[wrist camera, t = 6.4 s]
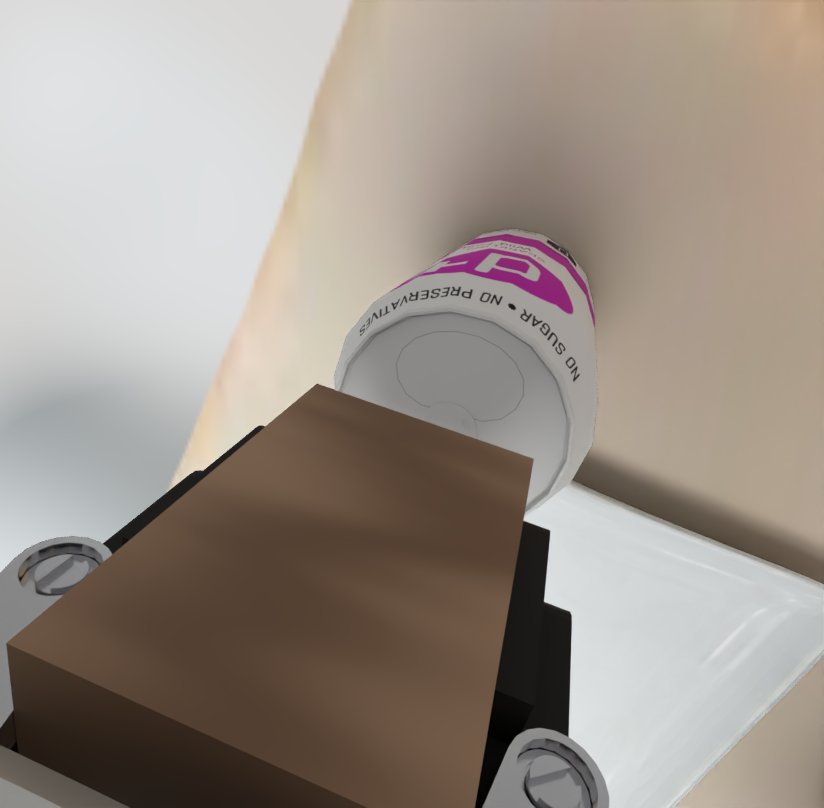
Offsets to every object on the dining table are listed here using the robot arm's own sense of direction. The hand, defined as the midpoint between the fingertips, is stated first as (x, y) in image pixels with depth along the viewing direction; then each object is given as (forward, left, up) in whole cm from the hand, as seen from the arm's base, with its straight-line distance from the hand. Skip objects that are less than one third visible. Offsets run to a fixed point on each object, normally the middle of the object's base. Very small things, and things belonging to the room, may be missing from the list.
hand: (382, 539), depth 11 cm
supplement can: (0, 0, -21) cm, 21 cm away
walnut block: (0, 0, -1) cm, 1 cm away
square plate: (-6, +20, -21) cm, 30 cm away
